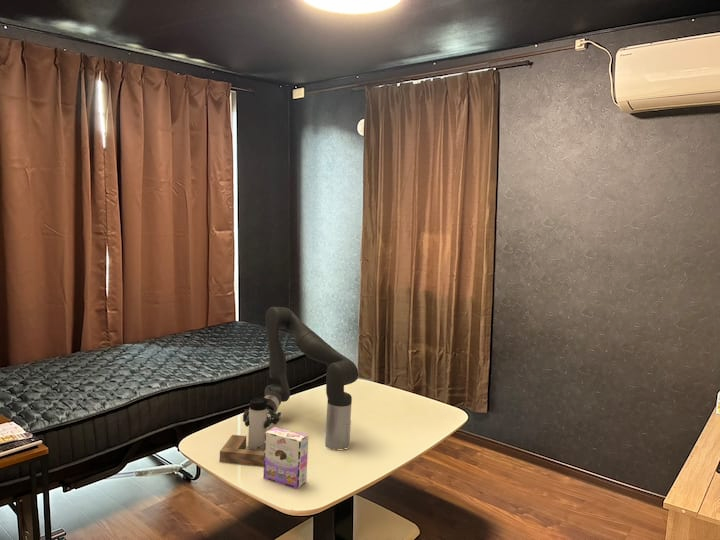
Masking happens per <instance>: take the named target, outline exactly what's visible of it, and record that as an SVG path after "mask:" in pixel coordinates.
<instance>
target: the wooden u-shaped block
mask: <svg viewBox="0 0 720 540" xmlns="http://www.w3.org/2000/svg"><path fill="white" fill-rule="evenodd" d="M246 447H247V435H239V434H238V435H237V434H232V435H230V437H229V438H228V440H227V441H226V442H225V444H224V445H223V446H222V447H221V449H220V450H219V460H218V461H219V463H224V462H225V463H227V464H235V465H236V464H237V465H246V466H255V467H256V466H258V467H264V451H254V450H248V449H246Z"/></svg>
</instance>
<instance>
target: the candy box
mask: <svg viewBox="0 0 720 540" xmlns="http://www.w3.org/2000/svg"><path fill="white" fill-rule="evenodd" d="M308 450H309V434H305V433H304V434H303V433H299V432H296V431H293V430H288V429H284V428H281V427H277V426H274V427H272V428H270V429H268V430H266V432H265V449H264V466H263V479H264V480H267V481H271V482H273V483H274V482H275V483H278V484H281V485H285V486H287V487H289V488H290V487H292V488H294V489H297V490H298V489H299V488H301V487H302V486H304V485H305V484H306V482H307V473H308V455H309V451H308Z"/></svg>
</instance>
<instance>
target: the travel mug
mask: <svg viewBox="0 0 720 540" xmlns="http://www.w3.org/2000/svg"><path fill="white" fill-rule="evenodd" d="M267 402H268V399H267V398H264V397H261V396H260V397H255V398H252V399H251V400H249V409H248V410H249V426H248V436H247V438H248V439H247V441H248V443H247V450H254V451H264V449H265V432H267V428H264V424H265V421H266V420H267Z"/></svg>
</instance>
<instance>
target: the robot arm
mask: <svg viewBox="0 0 720 540" xmlns="http://www.w3.org/2000/svg"><path fill="white" fill-rule="evenodd" d="M264 319H265V328H266V330H265V331H266V336H267V342H268V352H269V354H268V355H269V362H268V363H269V368H268V369H269V370H268V371H269V373H268V374H269V378H271V379H274V380H277V381H279V382H280V383H279V384H269V385H267V386H266V387H265V388H264V397H263V398H267V399H268V402H267V420H266V421H265V424H264V428H266V429H268V428H269V427H270V426H271V425H272V424H273V425H274V426H275V425H277V424H278V423H279V422H280V420H281V419H282V412H278V410H279V407H280V405H281V403H283V402H285V403H286V402H287V401H289V400H290V396H291V390H290V386H289V383H288V377H287V357H286V353H285V351H284V348H283V347H282V343H281V341H280V335H279V331H280V330H281V329H282V330H285V331H287V332H288V333H290V334H291V335H292V336H293V338H294V343H295V345H296V347H297V349H298V350H299V351H300V352H302V354H303V355H305V356H306V357H307V358H309V359H310V360H314V361H316V362H319V363H320V364H321V363H322V364H324V365H327V366H328V367H327V369H326V372H325V373H326V377H325V378H326V379H325V380H326V381H325V382H326V383H325V384H326V386H325V391H326V392H325V393H326V397H327V398H326V399H327V404H326V405H327V406H326V422H325V423H326V424H325V436H324V437H325V439H324V445H325V446H324V447H326V448H327V447H328V448H327V449H329V448H330V450H332V449H335V450H334V451H339V450H338V449H344V448H348V447H349V446H350V443H351V442H350V438H351V428H352V427H351V426H352V420H351V415H352V401H353V398H352V397H353V396H352V395H351V394H350V393H348V392H345V386H346V385H351V384H353V383H355V382H356V381H357V380H358V379H359V376H360V375H359V369H358V366H357V365H356V364H355V363H354V362H353V361H352V360H351V359H350V358H348V357H346V356H345V355H343V354H341V352H339V351H337V350H336V349H335V348H333V347H332V346H331V345H330V344H328V343H327V342H326V341H325V340H324V339H323V338H322V337H321V336H320V335H318V334H317V333H316V332H315V331H314V330H312V329H311V328H310V327H309V326H308V325H306V324H305V323H304V322H303V321H302V320H300V318H299V317H298V316H297V315H296V314H295V312H294V311H292V310H291V309H290V308H288V307H284V306H283V307H282V306H271V307H269V308H268V309H267V310H266V313H265V318H264ZM242 422H243V423H244V425H245V427H248V428H249V409H247V408H246V409H245V410H244V412H243V415H242ZM349 442H350V443H349ZM348 449H349V448H348ZM344 450H345V449H344Z"/></svg>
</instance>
